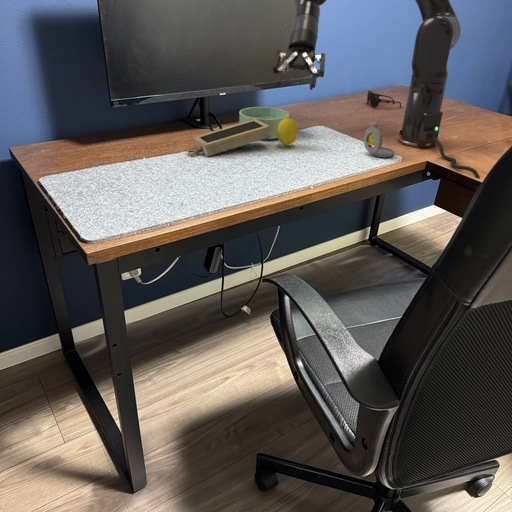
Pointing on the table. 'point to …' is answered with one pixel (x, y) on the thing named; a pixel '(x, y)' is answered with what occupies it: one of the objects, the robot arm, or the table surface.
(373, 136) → the pocket watch
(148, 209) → the table surface
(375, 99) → the sunglasses
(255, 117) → the bowl
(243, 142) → the box
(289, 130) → the lemon
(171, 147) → the table surface
